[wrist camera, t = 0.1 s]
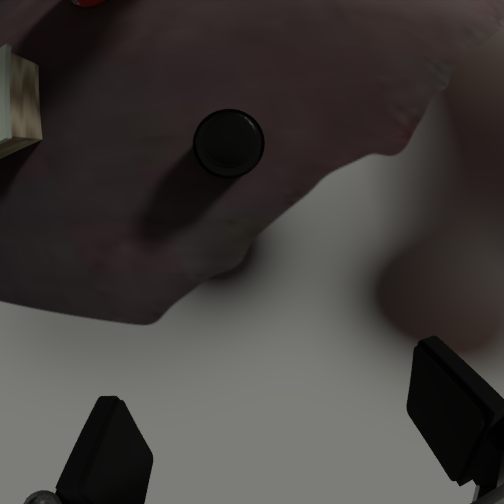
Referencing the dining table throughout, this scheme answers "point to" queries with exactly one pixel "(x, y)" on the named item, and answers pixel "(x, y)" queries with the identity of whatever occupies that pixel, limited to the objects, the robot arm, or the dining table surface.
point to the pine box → (23, 106)
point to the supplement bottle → (228, 143)
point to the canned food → (87, 2)
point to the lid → (5, 94)
